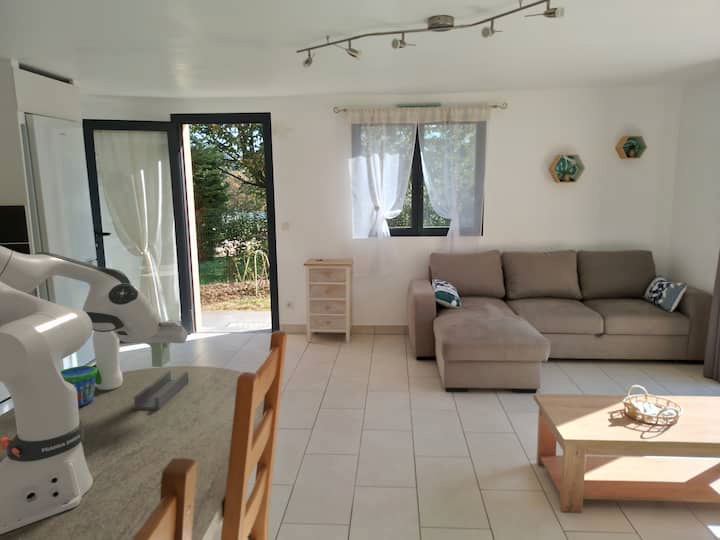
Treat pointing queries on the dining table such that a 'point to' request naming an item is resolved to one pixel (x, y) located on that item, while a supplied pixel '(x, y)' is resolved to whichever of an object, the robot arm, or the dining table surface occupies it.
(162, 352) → the door panel
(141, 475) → the dining table surface
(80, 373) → the snack cup
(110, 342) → the bottle
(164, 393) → the track
